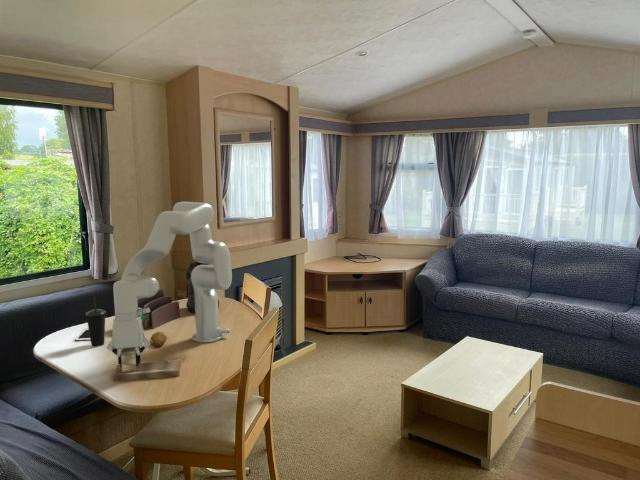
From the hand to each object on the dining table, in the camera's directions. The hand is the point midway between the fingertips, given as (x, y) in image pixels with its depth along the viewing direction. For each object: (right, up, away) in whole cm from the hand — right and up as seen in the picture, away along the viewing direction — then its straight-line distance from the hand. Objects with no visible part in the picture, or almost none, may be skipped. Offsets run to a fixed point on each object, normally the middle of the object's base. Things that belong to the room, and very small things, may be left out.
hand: (129, 364), depth 176 cm
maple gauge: (0, -1, 0) cm, 1 cm away
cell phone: (-33, +2, +41) cm, 52 cm away
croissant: (0, +1, +32) cm, 32 cm away
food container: (-16, +4, +48) cm, 51 cm away
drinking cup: (-24, +1, +29) cm, 38 cm away
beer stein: (+6, +9, +79) cm, 80 cm away
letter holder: (-9, +5, +59) cm, 60 cm away
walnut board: (+6, -3, +2) cm, 7 cm away
